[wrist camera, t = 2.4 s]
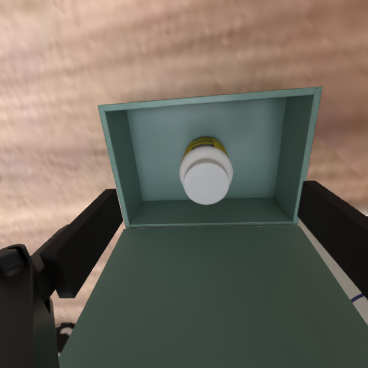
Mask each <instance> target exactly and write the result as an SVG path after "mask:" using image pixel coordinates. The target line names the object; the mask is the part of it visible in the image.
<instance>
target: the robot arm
mask: <svg viewBox="0 0 368 368" xmlns="http://www.w3.org/2000/svg"><path fill="white" fill-rule="evenodd" d="M297 217H298V218H299V219H300V220H301V221H302V223H303V224H304V225H305V226H306V227H307V228H308V230H309V231H310V232H311V233H312V234H313V236H314V237H315V238H316V239H317V240H318V242H319V243H320V244H321V245H322V246H323V247H324V249H325V250H326V251H327V252H328V253H329V255H330V256H331V257H332V258H333V259H334V261H335V262H336V263H337V264H338V265H339V266H340V268H341V269H342V270H343V271H344V272H345V274H346V275H347V276H348V277H349V278H350V280H351V281H352V282H353V283H354V284H355V285H356V287H357V288H358V289H359V290H360V291H361V293H362V294H363V295H364V296H365V297H366V299H367V300H368V216H365V215H364V214H362V213H361V212H359V211H358V210H357V209H355V208H354V207H352V206H351V205H349V204H348V203H347V202H345V201H344V200H342V199H341V198H339V197H338V196H336V195H335V194H334V193H332V192H331V191H329V190H328V189H326V188H325V187H324V186H322V185H321V184H319V183H318V182H316V181H303V184H302V190H301V196H300V201H299V207H298V213H297ZM122 222H123V217H122V213H121V209H120V205H119V200H118V196H117V192H116V189H106V190H105V191H104V192H103V193H102V194H100V195H99V196H98V197H97V198H96V199H95V200H94V201H93V202H92V203H91V204H90V205H89V206H88V207H87V208H86V209H85V210H84V211H83V212H82V213H81V214H80V215H79V216H78V217H77V218H76V219H75V220H73V221H72V222H71V223H70V224H68V225H66V226H64V227H63V228H61V229H59V230H58V231H57V232H56V233H55V234H54V235H53V237H51V238H50V239H49V240H47V242H45V243H44V244H43V245H42V246H41V247H40V248H39V249H38V250H37V251H36V252H35V253H33V254H32V255H31V256H30V255H29V253H28V251H27V249H26V247H25V245H23V244H15V245H11V246H8V247H5V248H3V249H1V250H0V368H60V366H59V357H58V348H57V338H56V329H55V320H54V311H53V302H52V300H51V298H50V296H51V295H52V293H53V292H54V291H55V289H56V291H57V294H58V296H59V298H75V297H76V295H77V293H78V292H79V290H80V289H81V287H82V285H83V284H84V282H85V281H86V279H87V277H88V276H89V274H90V273H91V271H92V269H93V268H94V266H95V265H96V263H97V261H98V260H99V258H100V257H101V255H102V253H103V252H104V250H105V249H106V247H107V246H108V244H109V242H110V241H111V239H112V238H113V236H114V234H115V233H116V231H117V230H118V228H119V226H120V225H121V223H122Z"/></svg>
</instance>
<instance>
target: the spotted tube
mask: <svg viewBox="0 0 368 368" xmlns="http://www.w3.org/2000/svg"><path fill="white" fill-rule="evenodd" d="M75 325H76V324H72V323H61V324H59V325H57V326H56V328H55V329H56V338H57V348H58V357H59V356H60V354H61V352H62V350H63V348H64V346H65V344H66V342H67V340H68V338H69V337H70V335H71V333H72V331H73V329H74V327H75Z"/></svg>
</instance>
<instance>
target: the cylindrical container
mask: <svg viewBox="0 0 368 368" xmlns="http://www.w3.org/2000/svg"><path fill="white" fill-rule="evenodd" d="M298 226H300V227H301V228H302V230H303V231H304V233H305V234H306V235H307V237H308V238H309V240H310V241H311V243H312V244H313V246H314V247H315V249H316V250H317V252H318V253H319V255H320V256H321V258H322V259H323V260H324V262H325V263H326V265H327V266H328V268H329V269H330V271H331V272H332V274H333V275H334V277H335V278H336V280H337V281H338V283H339V284H340V285H341V287H342V288H343V290H344V291H345V293H346V294H347V296H348V297H349V299H350V300H351V302H352V303H353V305H354V306H355V308H356V309H357V310H358V312H359V313H360V315H361V316H362V318H363V319H364V321H365V322H366V324H367V325H368V300H367V299H366V297H365V296H364V295H363V294H362V293H361V291H360V290H359V289H358V288H357V287H356V285H355V284H354V283H353V282H352V281H351V280H350V278H349V277H348V276H347V275H346V274H345V272H344V271H343V270H342V269H341V268H340V266H339V265H338V264H337V263H336V262H335V261H334V259H333V258H332V257H331V256H330V255H329V253H328V252H327V251H326V250H325V249H324V247H323V246H322V245H321V244H320V243H319V242H318V240H317V239H316V238H315V237H314V236H313V234H312V233H311V232H310V231H309V230H308V228H307V227H306V226H305V225H304V224H303V223H302V221H301V220H300V219H299V221H298Z"/></svg>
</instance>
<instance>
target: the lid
mask: <svg viewBox="0 0 368 368" xmlns="http://www.w3.org/2000/svg"><path fill="white" fill-rule="evenodd" d="M59 366H60V368H368V325H367V324H366V322H365V321H364V319H363V318H362V316H361V315H360V313H359V312H358V310H357V309H356V308H355V306H354V305H353V303H352V302H351V300H350V299H349V297H348V296H347V294H346V293H345V291H344V290H343V288H342V287H341V285H340V284H339V283H338V281H337V280H336V278H335V277H334V275H333V274H332V272H331V271H330V269H329V268H328V266H327V265H326V263H325V262H324V260H323V259H322V258H321V256H320V255H319V253H318V252H317V250H316V249H315V247H314V246H313V244H312V243H311V241H310V240H309V238H308V237H307V235H306V234H305V233H304V231H303V230H302V228H301V227H300V226H266V227H205V228H145V229H124V230H123V232H122V234H121V236H120V238H119V240H118V242H117V244H116V246H115V248H114V250H113V252H112V254H111V255H110V257H109V259H108V261H107V263H106V265H105V267H104V269H103V271H102V273H101V275H100V277H99V279H98V281H97V283H96V285H95V287H94V289H93V291H92V293H91V295H90V297H89V299H88V301H87V303H86V305H85V307H84V309H83V311H82V313H81V315H80V317H79V319H78V321H77V323H76V325H75V327H74V329H73V331H72V333H71V335H70V337H69V338H68V340H67V342H66V344H65V346H64V348H63V350H62V352H61V354H60V356H59Z"/></svg>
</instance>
